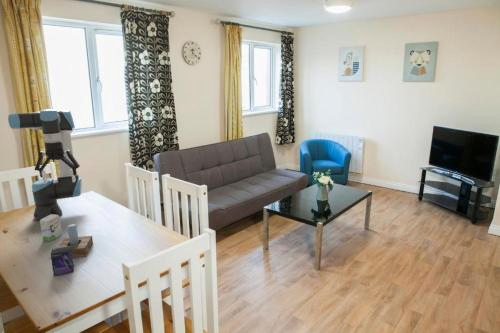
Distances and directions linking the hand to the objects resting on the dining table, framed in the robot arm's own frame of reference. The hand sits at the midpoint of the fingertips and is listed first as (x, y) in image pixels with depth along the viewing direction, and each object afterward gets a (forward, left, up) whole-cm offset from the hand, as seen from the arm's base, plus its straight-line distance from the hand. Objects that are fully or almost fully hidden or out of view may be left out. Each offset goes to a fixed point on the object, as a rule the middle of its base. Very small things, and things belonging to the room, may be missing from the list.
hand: (59, 182), depth 175 cm
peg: (+16, +8, -32) cm, 36 cm away
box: (+33, +8, -32) cm, 47 cm away
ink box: (-3, -9, -32) cm, 33 cm away
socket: (+16, +8, -32) cm, 36 cm away
